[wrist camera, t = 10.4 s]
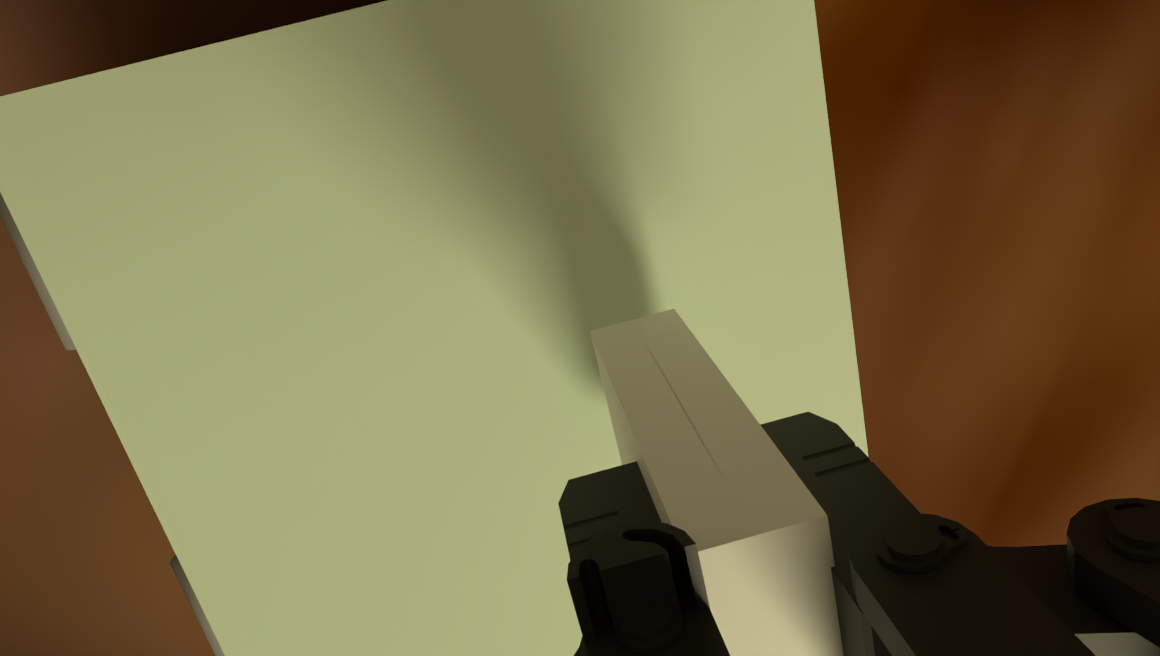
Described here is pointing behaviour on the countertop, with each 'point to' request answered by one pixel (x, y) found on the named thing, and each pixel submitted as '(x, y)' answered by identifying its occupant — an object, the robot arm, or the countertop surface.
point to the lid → (424, 288)
